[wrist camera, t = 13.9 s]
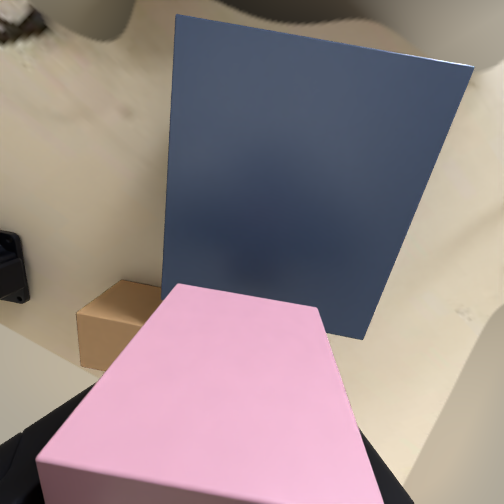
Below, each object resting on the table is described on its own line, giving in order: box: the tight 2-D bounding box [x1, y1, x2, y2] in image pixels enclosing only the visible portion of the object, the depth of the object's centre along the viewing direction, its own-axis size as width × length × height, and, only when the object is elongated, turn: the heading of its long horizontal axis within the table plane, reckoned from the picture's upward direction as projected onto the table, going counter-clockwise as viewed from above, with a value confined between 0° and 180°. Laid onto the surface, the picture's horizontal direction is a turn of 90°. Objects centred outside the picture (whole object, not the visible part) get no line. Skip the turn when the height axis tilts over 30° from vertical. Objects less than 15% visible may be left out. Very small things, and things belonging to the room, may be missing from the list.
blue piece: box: [161, 14, 474, 340], centre depth 15 cm, size 13×14×5 cm
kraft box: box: [76, 280, 163, 371], centre depth 19 cm, size 5×5×5 cm
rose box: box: [35, 283, 384, 504], centre depth 6 cm, size 5×5×5 cm
